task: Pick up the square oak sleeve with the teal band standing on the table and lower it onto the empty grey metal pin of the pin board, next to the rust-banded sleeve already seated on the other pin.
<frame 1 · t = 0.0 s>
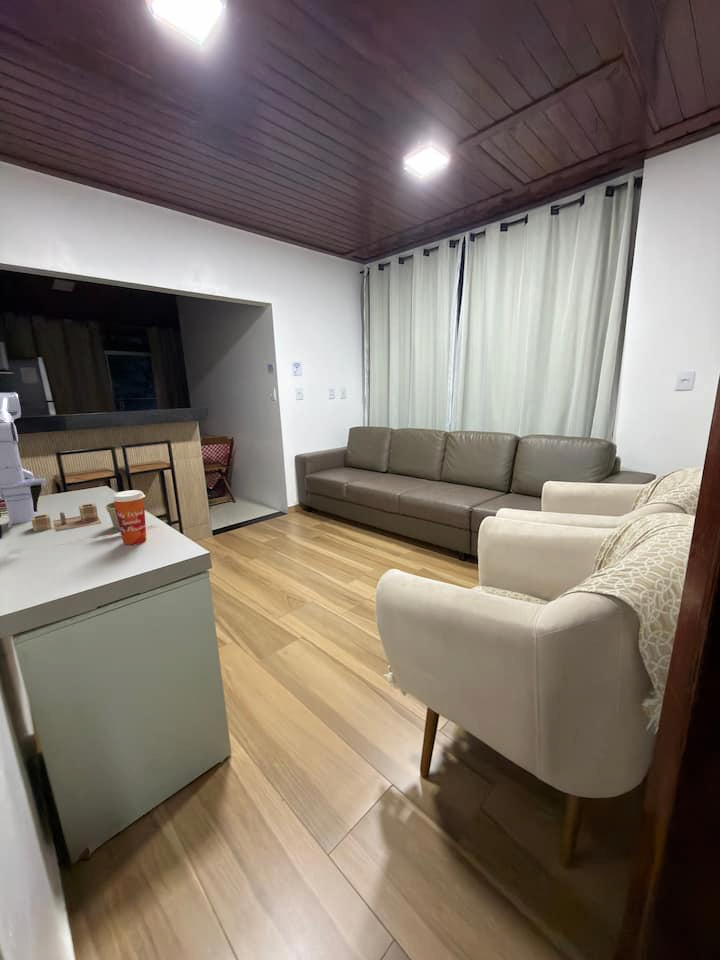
hand: (17, 513, 106), 10 cm above the countertop, tool pointing down, fingers open, 7 cm apart
flower pot: (126, 529, 123), on the countertop
seated sleeve: (89, 519, 128), point 1 cm above the countertop, touching pin board
pin board: (77, 525, 126), on the countertop
sleeve: (43, 531, 121), on the countertop
coffee cup: (135, 541, 113), on the countertop
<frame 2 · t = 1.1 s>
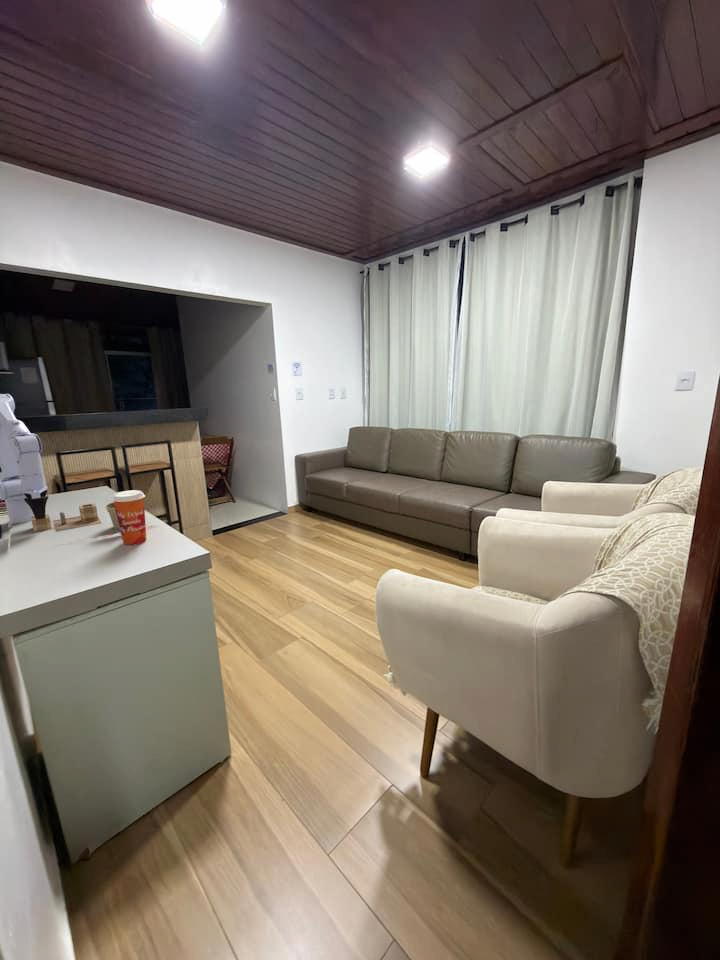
hand: (40, 515, 119), 5 cm above the countertop, tool pointing down, fingers open, 7 cm apart
nothing on the countertop moved.
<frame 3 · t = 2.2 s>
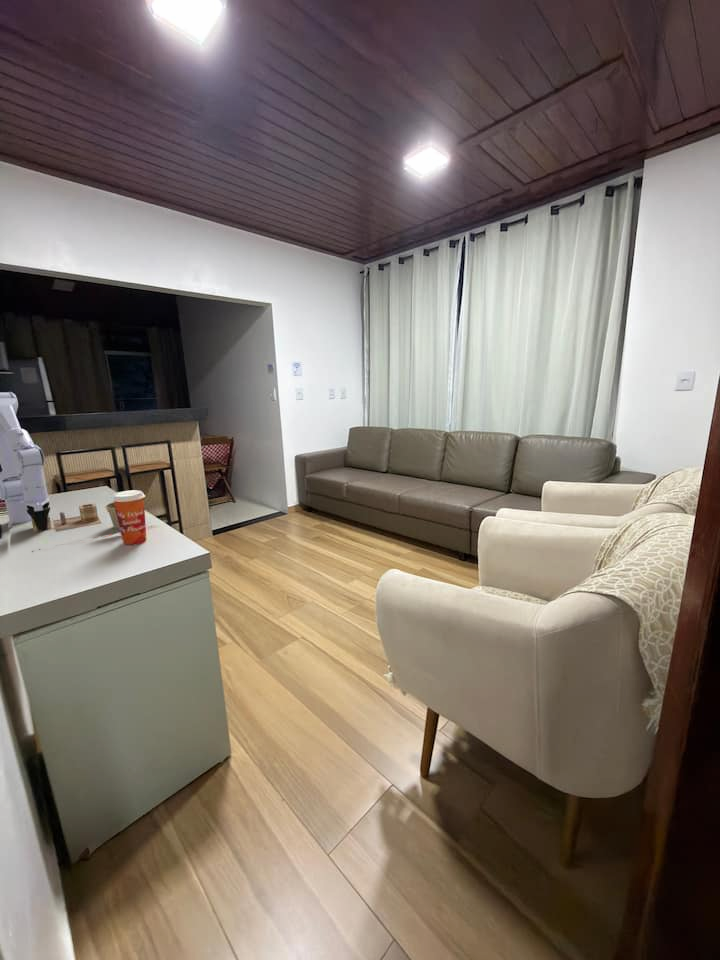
hand: (42, 527, 120), 1 cm above the countertop, tool pointing down, fingers closed on sleeve, 4 cm apart
sleeve: (43, 531, 121), on the countertop, touching gripper
everything else where it was.
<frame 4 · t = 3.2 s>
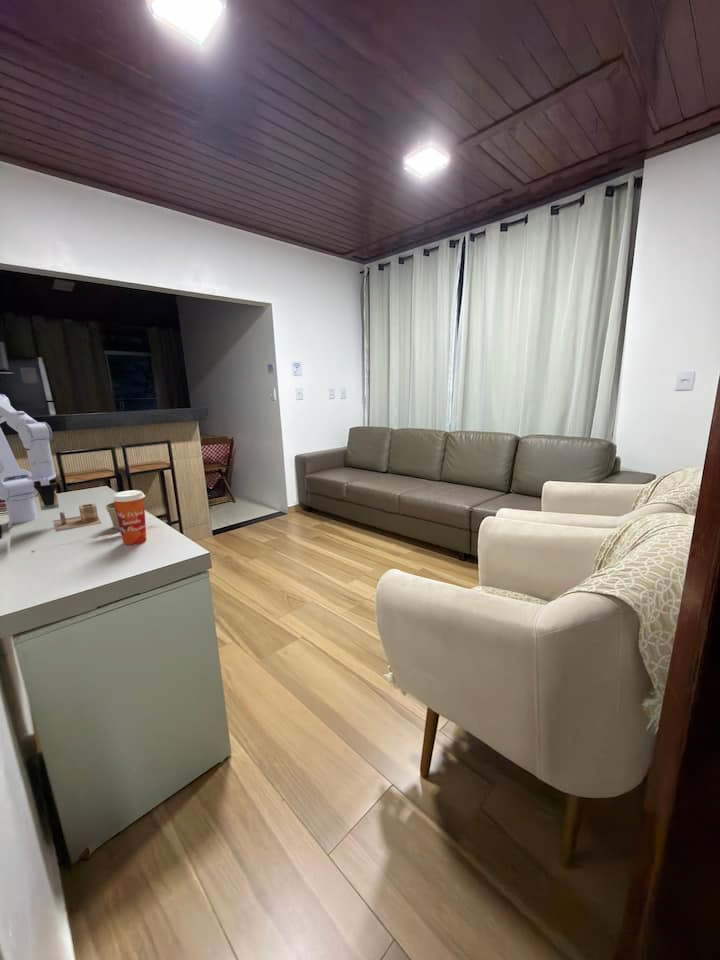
hand: (49, 503, 120), 9 cm above the countertop, tool pointing down, fingers closed on sleeve, 4 cm apart
sleeve: (50, 507, 121), point 7 cm above the countertop, touching gripper
everything else where it was.
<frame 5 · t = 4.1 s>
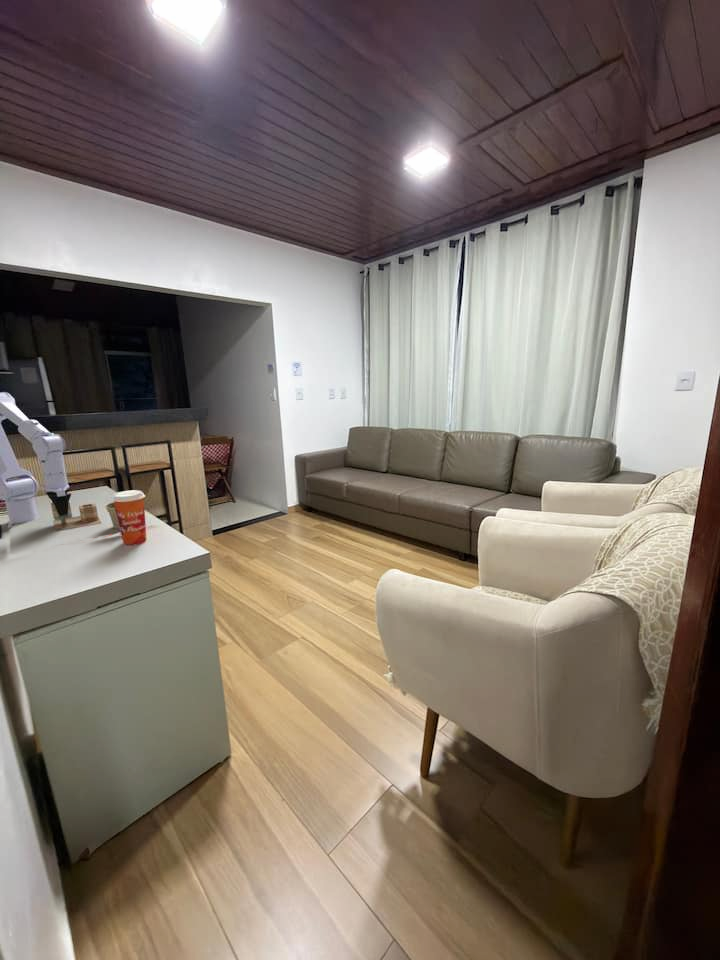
hand: (62, 513, 123), 5 cm above the countertop, tool pointing down, fingers closed on sleeve, 4 cm apart
sleeve: (62, 517, 123), point 3 cm above the countertop, touching gripper
everything else where it was.
when the fingers open (4 cm above the countertop, at t = 4.7 s): sleeve drops 2 cm, resting on pin board.
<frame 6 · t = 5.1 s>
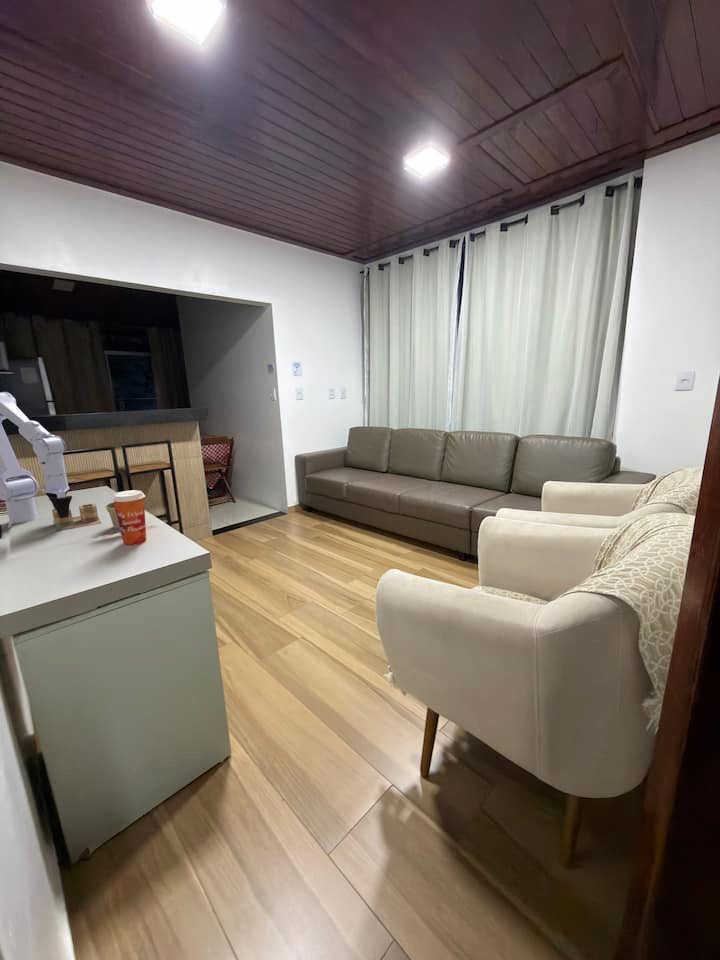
hand: (62, 514, 123), 4 cm above the countertop, tool pointing down, fingers open, 7 cm apart
sleeve: (64, 524, 124), point 1 cm above the countertop, touching pin board
everything else where it was.
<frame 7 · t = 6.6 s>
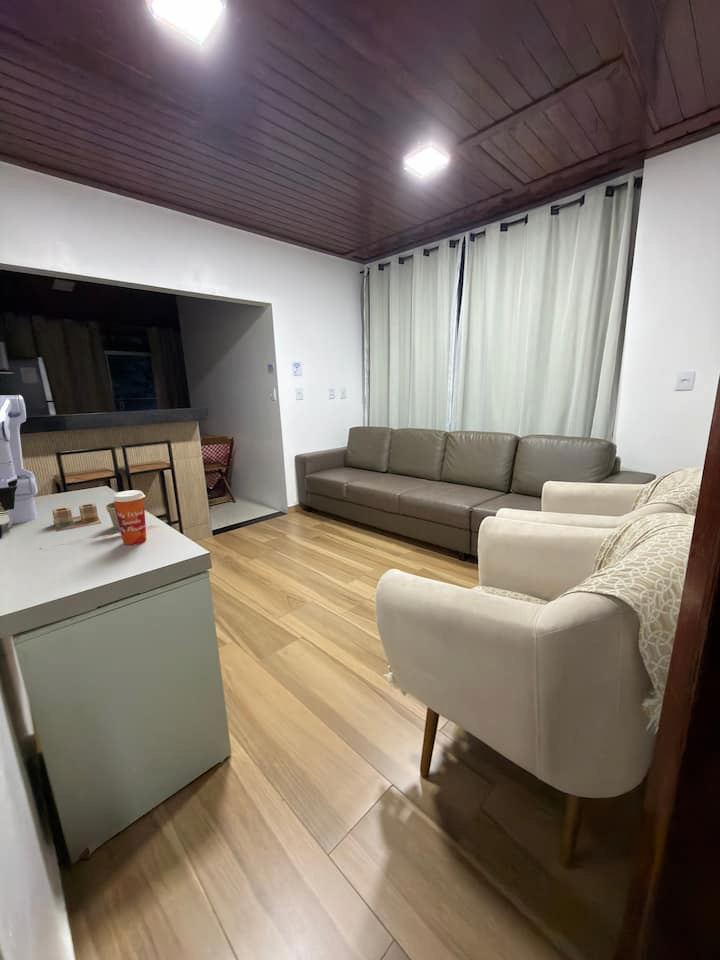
hand: (9, 506, 113), 10 cm above the countertop, tool pointing down, fingers open, 7 cm apart
nothing on the countertop moved.
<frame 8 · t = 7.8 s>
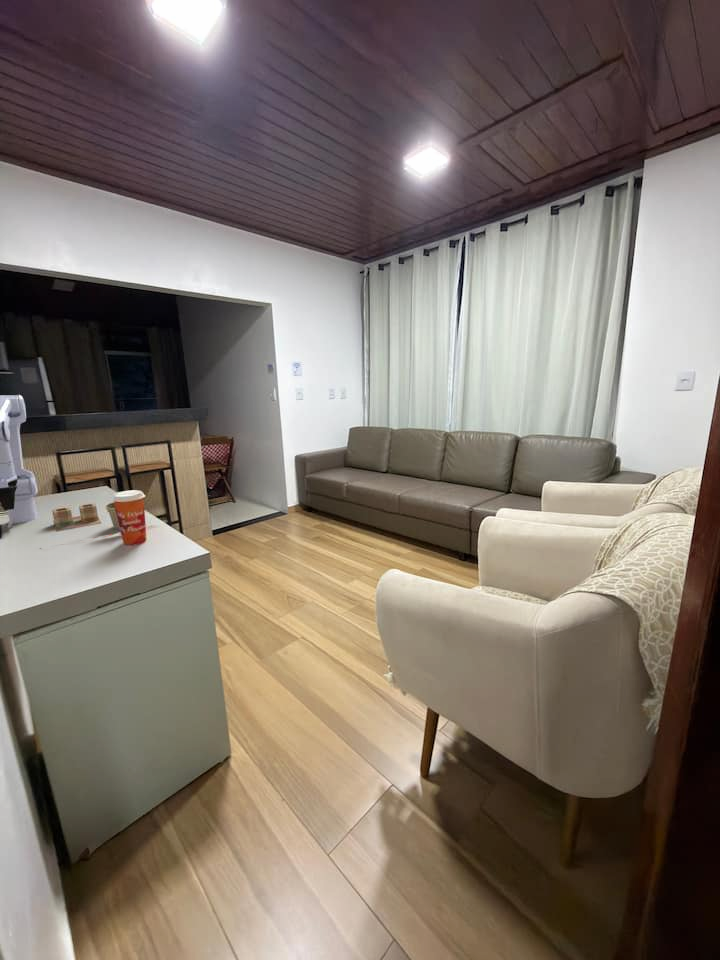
hand: (9, 506, 113), 10 cm above the countertop, tool pointing down, fingers open, 7 cm apart
nothing on the countertop moved.
at the end: sleeve 0.1 cm from the target spot on the pin board, point 1.2 cm above the pin board's base; sleeve tilted 0°; the gripper is holding nothing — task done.
